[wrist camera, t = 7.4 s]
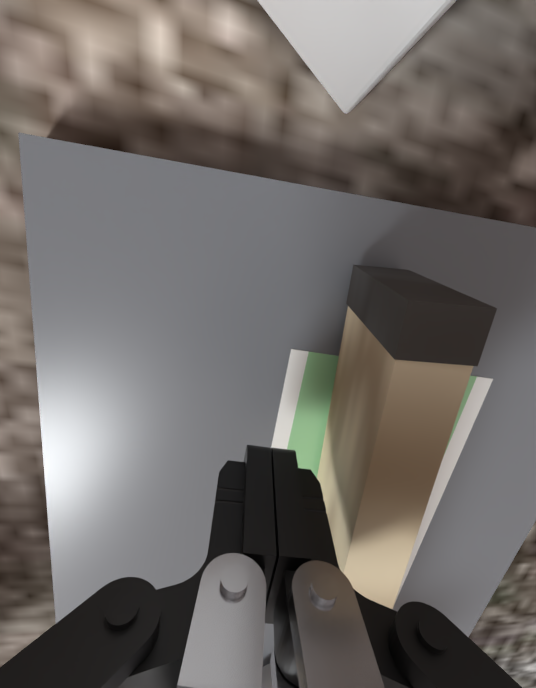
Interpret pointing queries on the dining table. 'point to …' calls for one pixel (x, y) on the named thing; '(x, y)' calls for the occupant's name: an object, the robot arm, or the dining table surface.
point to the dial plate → (249, 361)
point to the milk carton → (353, 38)
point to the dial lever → (392, 418)
